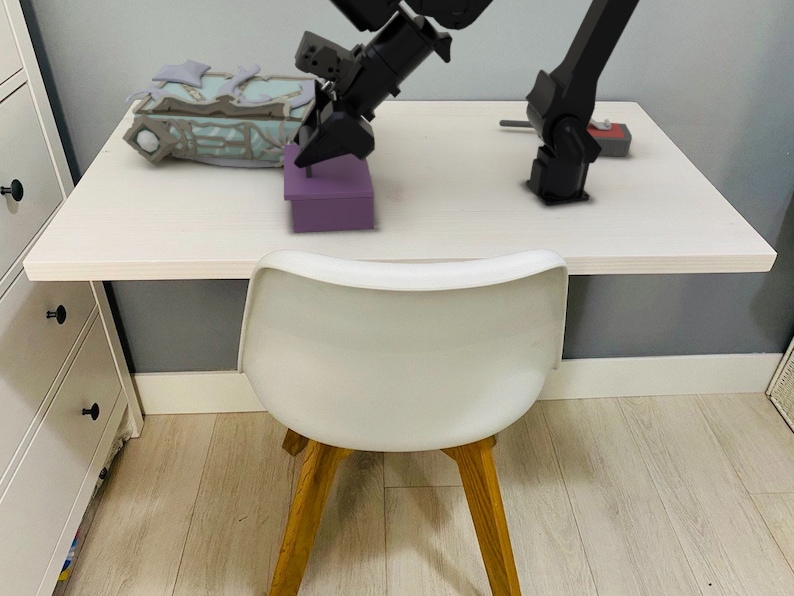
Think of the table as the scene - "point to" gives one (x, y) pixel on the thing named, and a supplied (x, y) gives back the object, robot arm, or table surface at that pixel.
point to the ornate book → (219, 115)
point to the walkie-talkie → (596, 135)
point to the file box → (333, 214)
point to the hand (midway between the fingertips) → (296, 153)
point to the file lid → (324, 175)
